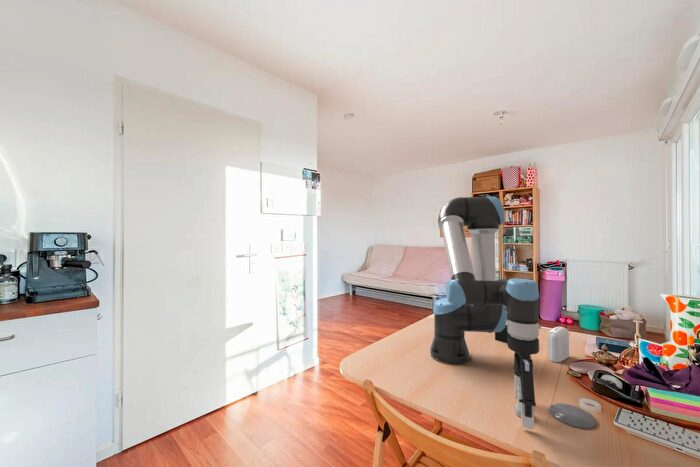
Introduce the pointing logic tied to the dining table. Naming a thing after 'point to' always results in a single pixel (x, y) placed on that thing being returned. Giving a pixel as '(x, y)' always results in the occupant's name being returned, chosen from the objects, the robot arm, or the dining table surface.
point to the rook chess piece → (518, 405)
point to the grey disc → (572, 416)
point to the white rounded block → (558, 344)
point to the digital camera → (502, 335)
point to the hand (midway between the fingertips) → (523, 412)
